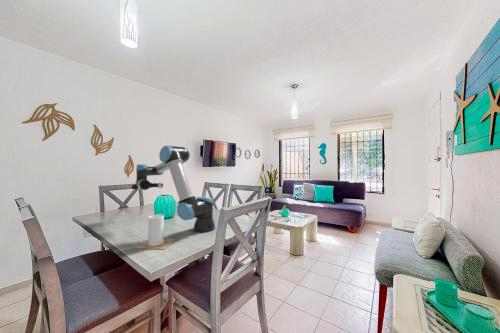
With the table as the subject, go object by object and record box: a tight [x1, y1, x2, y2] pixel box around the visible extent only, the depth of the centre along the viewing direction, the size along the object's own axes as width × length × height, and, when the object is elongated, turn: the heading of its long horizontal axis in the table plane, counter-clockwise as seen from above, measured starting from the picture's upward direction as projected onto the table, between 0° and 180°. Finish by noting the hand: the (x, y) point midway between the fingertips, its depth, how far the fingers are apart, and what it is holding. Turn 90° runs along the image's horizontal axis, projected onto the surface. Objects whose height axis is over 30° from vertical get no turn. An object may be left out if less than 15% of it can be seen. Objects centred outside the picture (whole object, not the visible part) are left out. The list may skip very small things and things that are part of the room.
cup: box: [147, 214, 165, 246], centre depth 115 cm, size 8×8×16 cm
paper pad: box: [135, 239, 175, 250], centre depth 115 cm, size 16×13×1 cm
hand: (150, 187), depth 135 cm, fingers open, 13 cm apart
